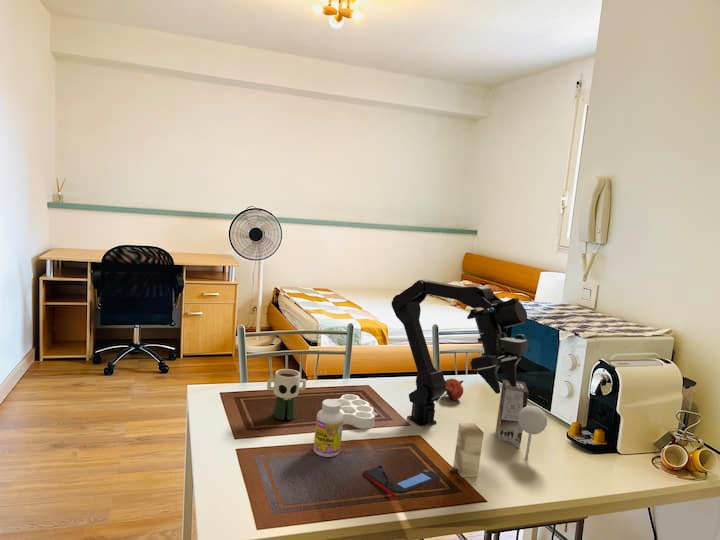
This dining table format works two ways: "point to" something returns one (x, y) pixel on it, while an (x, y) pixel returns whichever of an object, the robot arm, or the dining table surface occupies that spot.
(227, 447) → the dining table surface
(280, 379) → the character mug
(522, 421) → the lollipop
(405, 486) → the game console
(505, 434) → the coffee box
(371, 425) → the white cup cluster
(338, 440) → the supplement bottle
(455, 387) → the pomegranate
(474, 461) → the white rectangular box
